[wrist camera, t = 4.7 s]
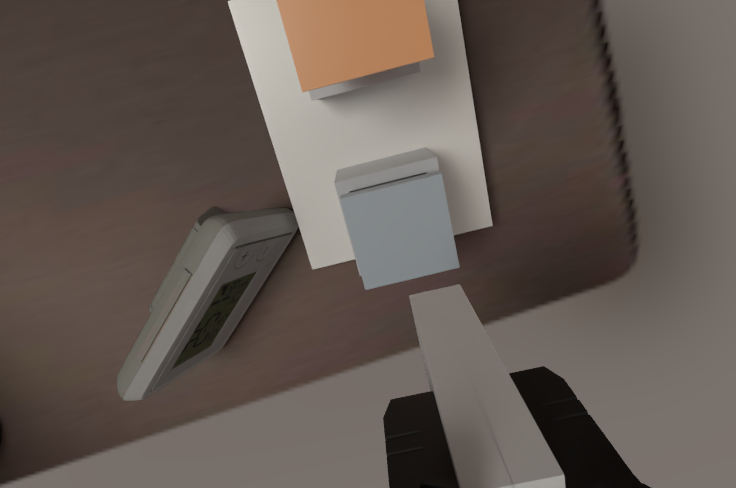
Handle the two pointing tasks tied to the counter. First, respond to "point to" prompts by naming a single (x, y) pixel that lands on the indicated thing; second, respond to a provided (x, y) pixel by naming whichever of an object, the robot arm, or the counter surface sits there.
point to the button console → (366, 127)
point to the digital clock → (205, 295)
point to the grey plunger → (401, 229)
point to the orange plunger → (353, 37)
